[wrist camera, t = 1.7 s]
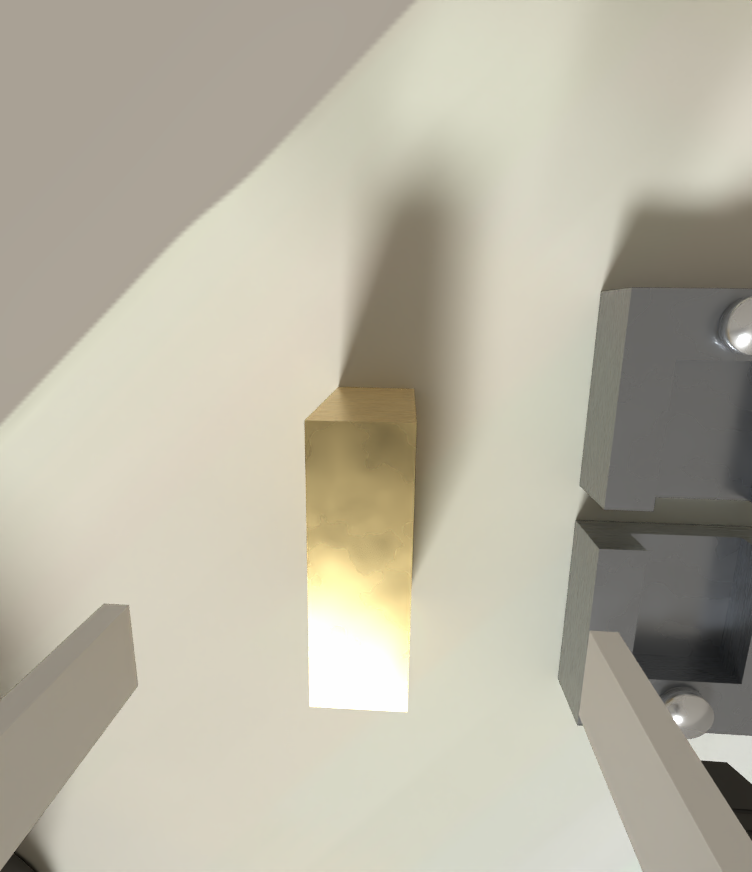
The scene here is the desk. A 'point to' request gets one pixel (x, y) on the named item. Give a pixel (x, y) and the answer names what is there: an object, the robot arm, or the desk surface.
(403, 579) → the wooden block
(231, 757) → the desk surface
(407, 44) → the desk surface
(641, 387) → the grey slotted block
